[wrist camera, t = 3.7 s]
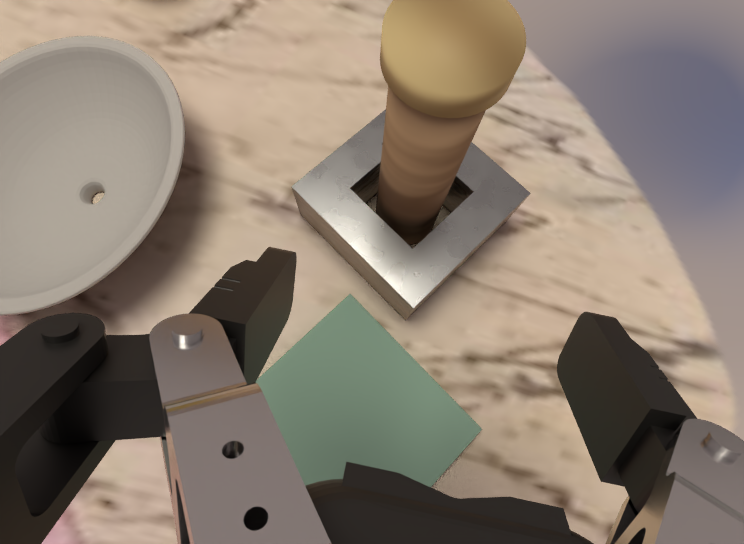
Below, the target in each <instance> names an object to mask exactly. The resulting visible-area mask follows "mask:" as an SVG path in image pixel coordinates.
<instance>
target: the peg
mask: <svg viewBox="0 0 744 544" xmlns="http://www.w3.org/2000/svg"><path fill="white" fill-rule="evenodd" d="M525 48H526V34H525V28H524V25H523V23H522V20H521V18H520V16H519V15H518V13H517V11H516V10H515V9H514V7H513V6H512V5H511V4H510V3H509V2H508V1H507V0H393V1H392V3H391V4H390V6H389V7H388V9H387V11H386V13H385V16H384V20H383V25H382V37H381V52H380V64H381V69H382V73H383V76H384V78H385V81H386V82H387V84H388V95H387V105H386V115H385V125H384V135H383V145H382V155H381V165H380V175H379V185H378V195H377V204H376V214H377V215H378V216H379V217H380V218H381V219H382V220H383V221H384V222H385V223H386V224H387V225H388V226H389V227H390V228H391V229H393V230H394V231H395V232H396V233H397V234H398V235H399V236H400V237H401V238H402V239H403V240H404V241H405V242H406V243H407V244H408V245H411V244H415V243H418V242H420V241H421V240H423V239H424V238H425V237H426V236H427V235H428V234H429V233H430V231H431V229H432V227H433V225H434V223H435V221H436V218H437V216H438V214H439V212H440V210H441V207H442V205H443V203H444V201H445V199H446V196H447V194H448V192H449V190H450V188H451V185H452V183H453V181H454V179H455V177H456V174H457V172H458V170H459V168H460V166H461V163H462V161H463V159H464V157H465V155H466V152H467V150H468V148H469V146H470V144H471V141H472V139H473V137H474V135H475V133H476V131H477V128H478V126H479V124H480V122H481V120H482V117H483V115H484V113H485V111H486V110H487V109H488V108H490V107H492V106H493V105H494V104H496V103H497V102H498V101H499V100H500V99H501V98H502V97H503V95H504V94H505V93H506V91H507V89H508V87H509V85H510V83H511V81H512V79H513V77H514V75H515V73H516V71H517V69H518V67H519V65H520V63H521V61H522V59H523V56H524V53H525Z"/></svg>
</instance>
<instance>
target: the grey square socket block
mask: <svg viewBox="0 0 744 544" xmlns="http://www.w3.org/2000/svg"><path fill="white" fill-rule="evenodd" d="M385 115H386V110H385V111H383V112H382V113H381V114H380V115H378V116H377V117H376V118H375V119H374V120H372V121H371V122H370V123H369V124H367V125H366V126H365V127H364V128H363V129H361V130H360V131H359V132H358V133H356V134H355V135H354V136H353V137H351V138H350V139H349V140H348V141H347V142H345V143H344V144H343V145H342V146H340V147H339V148H338V149H337V150H336V151H334V152H333V153H332V154H331V155H329V156H328V157H327V158H326V159H325V160H323V161H322V162H321V163H320V164H318V165H317V166H316V167H315V168H314V169H312V170H311V171H310V172H309V173H307V174H306V175H305V176H304V177H303V178H301V179H300V180H299V181H298V182H296V183H295V184H294V185H293V186H292V190H293V193H294V196H295V199H296V202H297V205H298V208H299V211H300V214H301V215H302V216H303V217H304V218H305V219H306V220H307V221H308V222H309V224H310V225H311V226H312V227H313V228H314V229H315V230H316V231H317V232H318V233H319V234H320V235H321V236H322V237H323V238H324V239H325V240H326V241H327V242H328V243H329V244H330V245H331V246H332V247H333V248H334V249H335V250H336V251H337V252H338V253H339V254H340V255H341V256H342V257H343V258H344V259H345V260H346V261H347V262H348V263H349V264H350V265H351V266H352V267H353V268H354V269H355V270H356V271H357V272H358V273H359V274H360V275H361V276H362V277H363V278H364V279H365V280H366V281H367V282H368V283H369V284H370V285H371V286H372V287H373V288H374V289H375V290H376V291H377V292H378V293H379V294H380V295H381V296H382V297H383V298H384V299H385V300H386V301H387V302H388V303H389V304H390V305H391V306H392V307H393V308H394V309H395V310H396V311H397V312H398V313H399V314H400V315H401V316H402V317H403V318H404V319H405V320H406V319H407V318H408V317H409V316H410V315H411V314H412V313H413V312H414V311H415V310H416V309H417V308H418V307H419V306H420V305H421V304H422V303H423V302H425V301H426V300H427V299H428V298H429V297H430V296H431V295H432V294H433V293H434V292H435V291H436V290H437V289H438V288H439V287H440V286H441V285H442V284H443V283H444V282H445V281H446V280H447V279H448V278H449V277H450V276H451V275H452V274H453V273H454V272H455V271H456V270H457V269H458V268H459V267H460V266H461V265H462V264H463V263H464V262H465V261H466V260H467V259H468V258H469V257H470V256H471V255H472V254H473V253H474V252H475V251H476V250H477V249H478V248H479V247H480V246H481V245H482V244H483V243H484V242H486V241H487V240H488V239H489V238H490V237H491V236H492V235H493V234H494V233H495V232H496V231H497V230H498V229H499V228H500V227H501V226H502V225H503V224H504V223H505V222H506V221H507V220H508V219H509V218H510V216H511V215H512V214H513V213H514V212H515V211H516V210H517V208H518V207H519V206H520V205H521V204H522V203H523V201H524V200H525V199H526V198H527V197H528V196H529V195H530V192H529V191H527V190H526V189H525V188H524V187H523V186H522V185H521V184H519V183H518V182H517V181H516V180H515V179H514V178H512V177H511V176H510V175H509V174H508V173H507V172H506V171H504V170H503V169H502V168H501V167H500V166H499V165H497V164H496V163H495V162H494V161H493V160H492V159H491V158H489V157H488V156H487V155H486V154H485V153H484V152H482V151H481V150H480V149H479V148H478V147H477V146H476V145H474V144H473V143H472V142H471V144H470V146H469V148H468V150H467V152H466V155H465V157H464V159H463V161H462V163H461V166H460V168H459V170H458V172H457V174H456V177H455V179H454V181H453V183H452V185H451V188H450V190H449V192H448V194H447V196H446V199H445V201H444V203H443V205H444V206H445V207H446V208H447V209H448V210H449V211H451V212H452V213H451V214H450V215H448V216H447V217H446V218H445V219H444V220H443V221H442V222H441V223H440V224H439V225H438V226H437V227H436V228H435V229H434V230H432V231H431V232H430V233H429V234H428V235H427V236H426V237H425V238H424V239H423V240H422V241H421V242H420V243H419V244H418V245H416V246H415V247H414V248H413V249H412V248H411V247H410V246H409V245H408V244H407V243H406V242H405V241H404V240H403V239H402V238H401V237H400V236H399V235H398V234H397V233H396V232H395V231H394V230H393V229H391V228H390V227H389V226H388V225H387V224H386V223H385V222H384V221H383V220H382V219H381V218H380V217H379V216H378V215H377V214H376V213H375V212H374V211H373V210H372V209H371V208H370V207H369V206H368V205H367V204H365V203H366V202H367V201H368V200H369V199H371V198H372V197H373V196H374V195H375V194H376V193H377V192H378V185H379V175H380V165H381V155H382V145H383V135H384V125H385Z"/></svg>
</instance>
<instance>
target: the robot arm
mask: <svg viewBox="0 0 744 544" xmlns="http://www.w3.org/2000/svg"><path fill="white" fill-rule="evenodd" d="M295 270H296V253H295V252H291V251H287V250H282V249H277V248H272V247H268V248H267V249H266V251H265V252H264V253H263V254H262V255H261V257H260V258H259V259H258V260H257V262H254V261H249V260H245V261H243V262H241V263H239V264H237V265H235V266H232V267H231V268H230V269H229V270H228V271H227V272H226V273H225V274H224V275H223V277H222V279H220V280H219V281H218V282H217V283H216V284H215V286H214V288H212V289H211V290H210V291H209V292H208V293H207V294H206V295H205V296H204V297H203V298H202V300H201V301H200V302H199V303H198V304H197V305H196V306H195V307H194V308H193V309H192V311H191V312H190V313H189V314H181V315H176V316H173V317H169V318H167V319H165V320H163V321H161V322H160V323H158V324H157V325H156V326H155V327H154V328H153V329H152V331H151V332H150V334H145V335H106V333H105V327H104V324H103V322H102V321H101V320H100V319H98V318H97V317H95V316H92V315H88V314H82V313H65V314H58V315H54V316H50V317H46V318H43V319H41V320H38V321H36V322H34V323H32V324H30V325H28V326H27V327H25V328H24V329H22V330H21V331H20V332H18V333H17V334H16V335H14V336H13V337H12V338H10V339H9V340H8V341H6V342H5V343H4V344H2V345H1V346H0V544H41V543H42V542H43V540H44V539H45V538H46V536H47V535H48V533H49V532H50V531H51V529H52V528H53V526H54V525H55V524H56V522H57V521H58V519H59V518H60V517H61V515H62V514H63V512H64V511H65V510H66V508H67V507H68V506H69V504H70V503H71V501H72V500H73V499H74V497H75V496H76V494H77V493H78V492H79V490H80V489H81V487H82V486H83V485H84V483H85V482H86V481H87V479H88V478H89V476H90V475H91V474H92V472H93V471H94V469H95V468H96V467H97V465H98V464H99V462H100V461H101V460H102V458H103V457H104V456H105V454H106V453H107V451H108V450H109V449H110V447H111V446H112V444H113V443H114V442H115V440H122V439H136V438H150V437H160V441H161V447H162V452H163V458H164V463H165V469H166V474H167V480H168V485H169V491H170V497H171V502H172V508H173V514H174V521H175V528H176V535H177V542H178V544H593V543H592V542H590V541H589V540H587V539H586V538H584V537H582V536H580V535H579V534H577V533H575V532H573V531H571V530H570V529H569V525H568V522H567V519H566V516H565V512H564V509H563V508H559V507H554V506H550V505H545V504H541V503H536V502H531V501H527V500H522V499H517V498H513V497H492V498H467V499H457V498H453V497H450V496H448V495H446V494H443V493H441V492H439V491H437V490H435V489H433V488H431V487H428V486H426V485H424V484H422V483H420V482H418V481H416V480H413V479H411V478H409V477H407V476H405V475H403V474H400V473H397V472H393V471H388V470H383V469H379V468H374V467H369V466H365V465H360V464H356V463H351V462H346V466H345V470H344V475H343V479H331V480H325V481H319V482H315V483H312V484H309V485H305V484H304V482H303V480H302V478H301V476H300V473H299V471H298V469H297V467H296V465H295V462H294V460H293V458H292V456H291V454H290V451H289V449H288V447H287V445H286V443H285V440H284V438H283V436H282V434H281V432H280V429H279V427H278V425H277V423H276V421H275V418H274V416H273V414H272V412H271V410H270V407H269V405H268V403H267V401H266V399H265V396H264V394H263V392H262V390H261V388H260V386H259V385H258V384H257V383H256V380H257V378H258V376H259V374H260V373H261V371H262V369H263V367H264V365H265V363H266V361H267V359H268V357H269V355H270V353H271V351H272V349H273V347H274V346H275V344H276V342H277V340H278V338H279V336H280V334H281V332H282V330H283V328H284V326H285V324H286V322H287V320H288V318H289V315H290V311H291V307H292V301H293V291H294V281H295ZM557 374H558V378H559V381H560V383H561V385H562V388H563V390H564V393H565V395H566V398H567V400H568V402H569V405H570V407H571V410H572V412H573V415H574V417H575V420H576V422H577V424H578V427H579V429H580V432H581V434H582V437H583V439H584V441H585V444H586V446H587V449H588V451H589V454H590V456H591V458H592V461H593V463H594V466H595V468H596V471H597V473H598V476H599V478H600V480H601V482H606V483H611V484H615V485H620V486H625V488H626V490H627V493H628V495H629V496H628V497H627V498H626V500H625V501H624V502H623V504H622V506H621V509H620V511H619V513H618V516H617V518H616V520H615V523H614V525H613V527H612V530H611V532H610V534H609V537H608V539H607V541H606V544H744V441H743V440H742V439H740V438H739V437H738V436H736V435H735V434H733V433H732V432H730V431H728V430H727V429H725V428H723V427H721V426H719V425H717V424H714V423H712V422H709V421H706V420H701V419H697V417H696V416H695V415H694V413H693V412H692V411H691V409H690V408H689V407H688V405H687V404H686V403H685V401H684V400H683V399H682V397H681V396H680V395H679V393H678V392H677V391H676V389H675V388H674V387H673V385H672V384H671V383H670V382H668V381H667V377H666V376H665V375H664V373H663V372H662V371H661V370H659V367H658V365H657V364H656V363H655V361H654V360H653V359H652V357H651V356H650V354H649V353H648V352H647V351H645V350H644V349H643V348H642V347H641V346H639V345H638V344H637V343H636V342H634V341H633V340H632V339H631V338H630V337H629V335H628V334H627V333H626V331H625V330H624V328H623V327H622V326H621V324H620V323H619V322H618V320H617V319H616V318H614V317H610V316H605V315H600V314H595V313H590V312H584V313H582V314H581V315H580V316H579V318H578V320H577V322H576V324H575V326H574V328H573V330H572V332H571V334H570V336H569V338H568V340H567V342H566V344H565V346H564V348H563V350H562V352H561V354H560V356H559V359H558V364H557Z"/></svg>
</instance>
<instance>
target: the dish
mask: <svg viewBox="0 0 744 544" xmlns="http://www.w3.org/2000/svg"><path fill="white" fill-rule="evenodd" d="M184 145H185V123H184V115H183V110H182V106H181V102H180V99H179V96H178V93H177V91H176V89H175V87H174V84H173V82H172V81H171V79H170V78H169V76H168V75H167V73H166V72H165V71H164V70H163V68H162V67H161V66H160V65H159V64H158V63H157V62H156V61H155V60H154V59H153V58H151V57H150V56H149V55H147V54H146V53H145V52H143V51H142V50H140V49H138V48H136V47H135V46H133V45H130V44H128V43H125V42H123V41H119V40H116V39H112V38H106V37H98V36H75V37H66V38H61V39H56V40H51V41H48V42H44V43H41V44H38V45H35V46H33V47H30V48H27V49H25V50H23V51H21V52H18V53H16V54H14V55H12V56H11V57H9V58H7V59H5V60H3V61H2V62H0V315H16V314H22V313H29V312H34V311H37V310H41V309H45V308H48V307H51V306H54V305H56V304H59V303H62V302H64V301H66V300H68V299H70V298H73V297H75V296H77V295H78V294H80V293H82V292H84V291H85V290H87V289H89V288H91V287H92V286H94V285H95V284H97V283H98V282H99V281H101V280H102V279H104V278H105V277H106V276H108V275H109V274H110V273H111V272H113V271H114V270H115V269H116V268H117V267H119V266H120V265H121V264H122V263H123V262H124V261H125V260H126V259H127V258H128V257H129V256H130V255H131V254H132V253H133V252H134V251H135V250H136V249H137V247H138V246H139V245H140V244H141V243H142V242H143V240H144V239H145V238H146V237H147V235H148V234H149V233H150V231H151V230H152V228H153V227H154V225H155V224H156V222H157V221H158V219H159V218H160V216H161V214H162V212H163V211H164V209H165V207H166V205H167V203H168V201H169V199H170V197H171V195H172V193H173V190H174V187H175V185H176V182H177V179H178V176H179V172H180V169H181V165H182V160H183V154H184ZM97 192H105V194H104V196H103V198H102V199H101V200H100V201H99V202H97V203H95V204H92V197H93V196H94V194H96V193H97Z"/></svg>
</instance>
